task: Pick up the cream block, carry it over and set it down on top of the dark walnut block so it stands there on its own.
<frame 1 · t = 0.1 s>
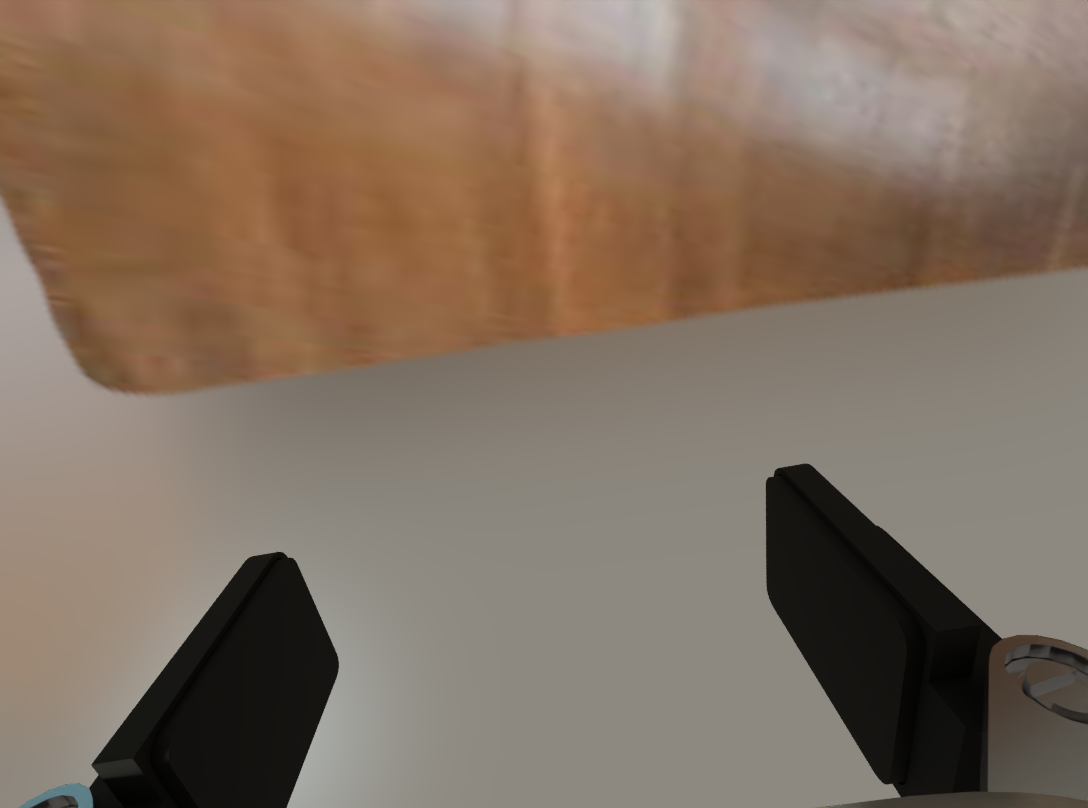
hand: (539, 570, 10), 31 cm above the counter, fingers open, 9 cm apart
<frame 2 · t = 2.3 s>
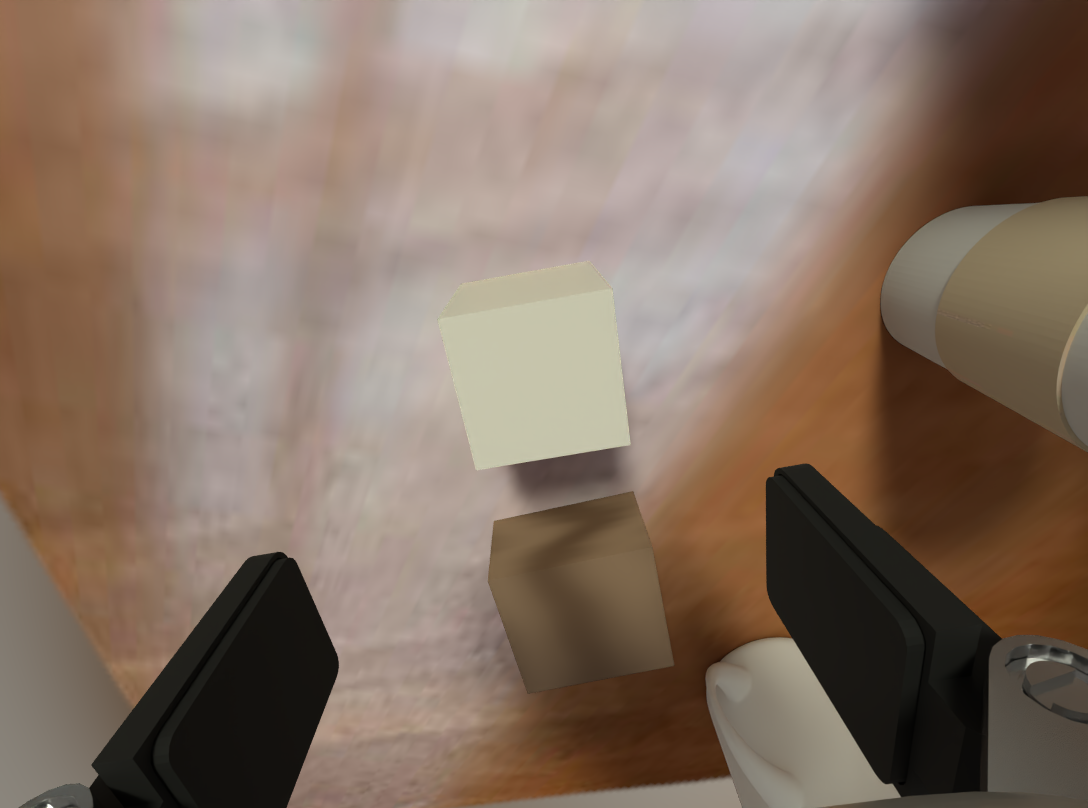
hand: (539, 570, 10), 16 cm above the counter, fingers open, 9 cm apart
coffee cup: (949, 282, 25), on the counter
mug: (747, 665, 34), on the counter
walnut block: (577, 559, 31), on the counter
cream block: (536, 334, 25), on the counter
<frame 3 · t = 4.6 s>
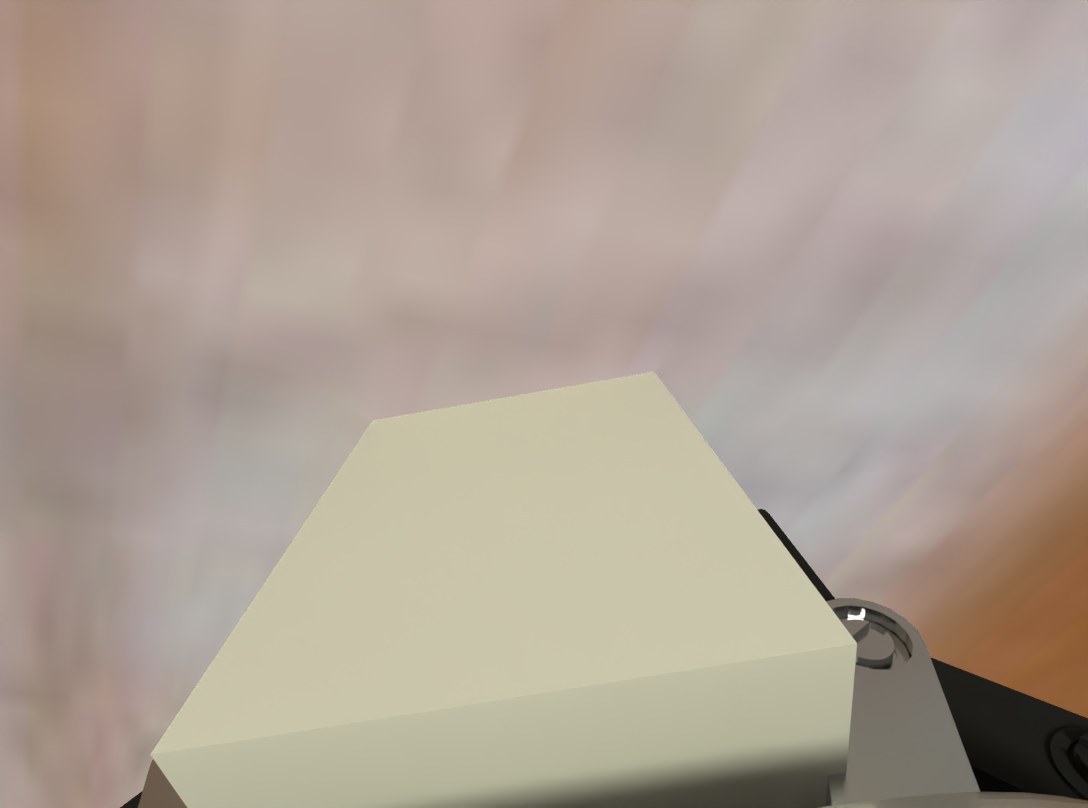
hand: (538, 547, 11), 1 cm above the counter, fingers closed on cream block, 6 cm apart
cream block: (536, 515, 12), on the counter, touching gripper
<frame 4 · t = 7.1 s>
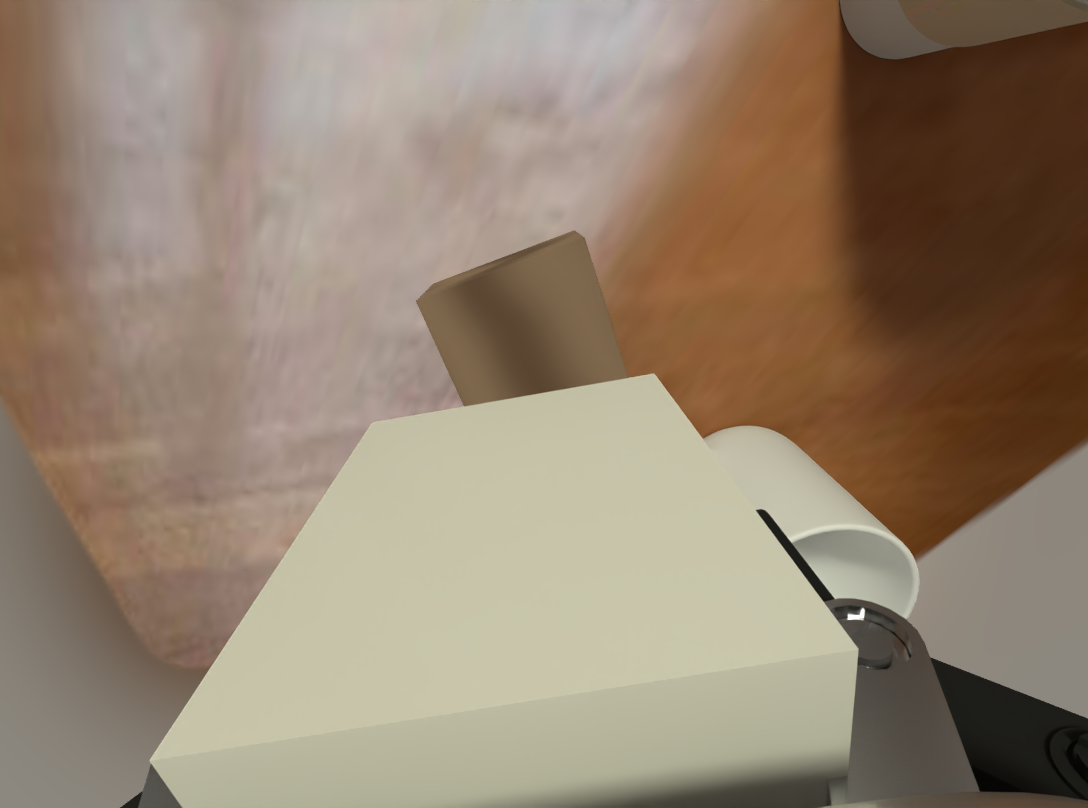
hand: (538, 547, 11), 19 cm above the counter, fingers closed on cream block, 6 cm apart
mug: (714, 465, 33), on the counter
walnut block: (529, 326, 29), on the counter
cream block: (536, 516, 12), point 18 cm above the counter, touching gripper
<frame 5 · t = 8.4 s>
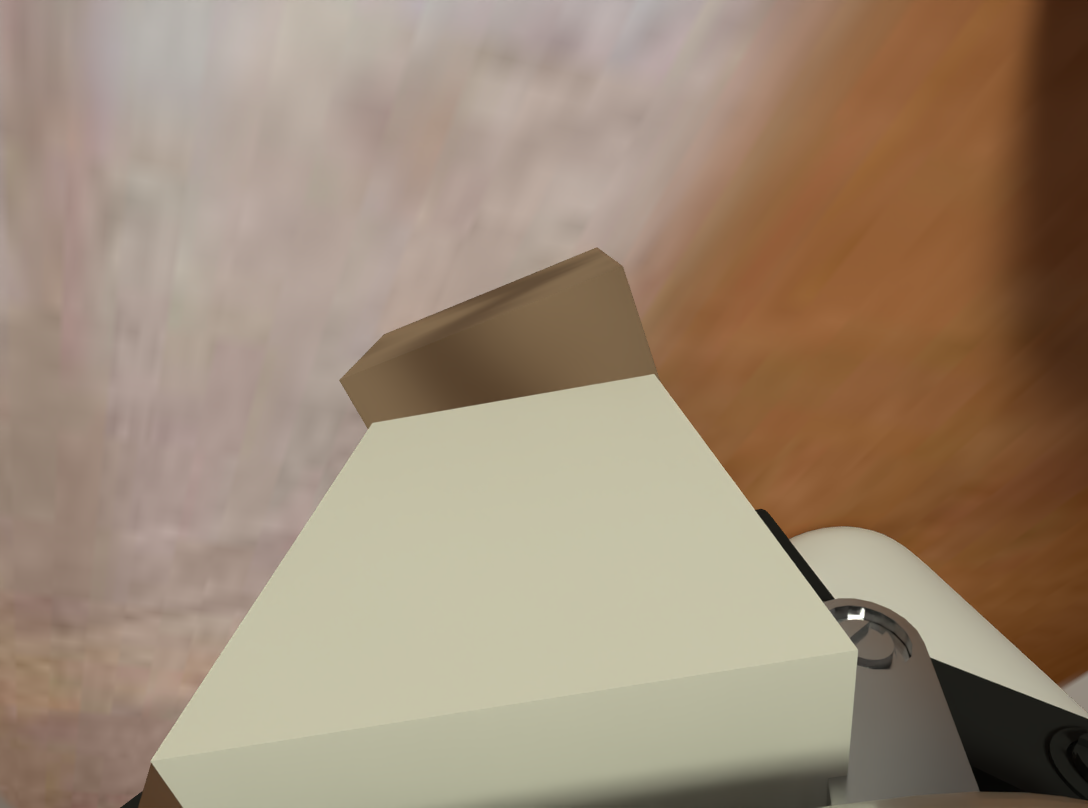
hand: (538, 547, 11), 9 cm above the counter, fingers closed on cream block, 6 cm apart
mug: (792, 576, 23), on the counter
walnut block: (531, 390, 19), on the counter
cream block: (537, 517, 12), point 8 cm above the counter, touching gripper
when the fingers open (7 cm above the counter, at t = 9.7 s): cream block stays where it is, resting on walnut block.
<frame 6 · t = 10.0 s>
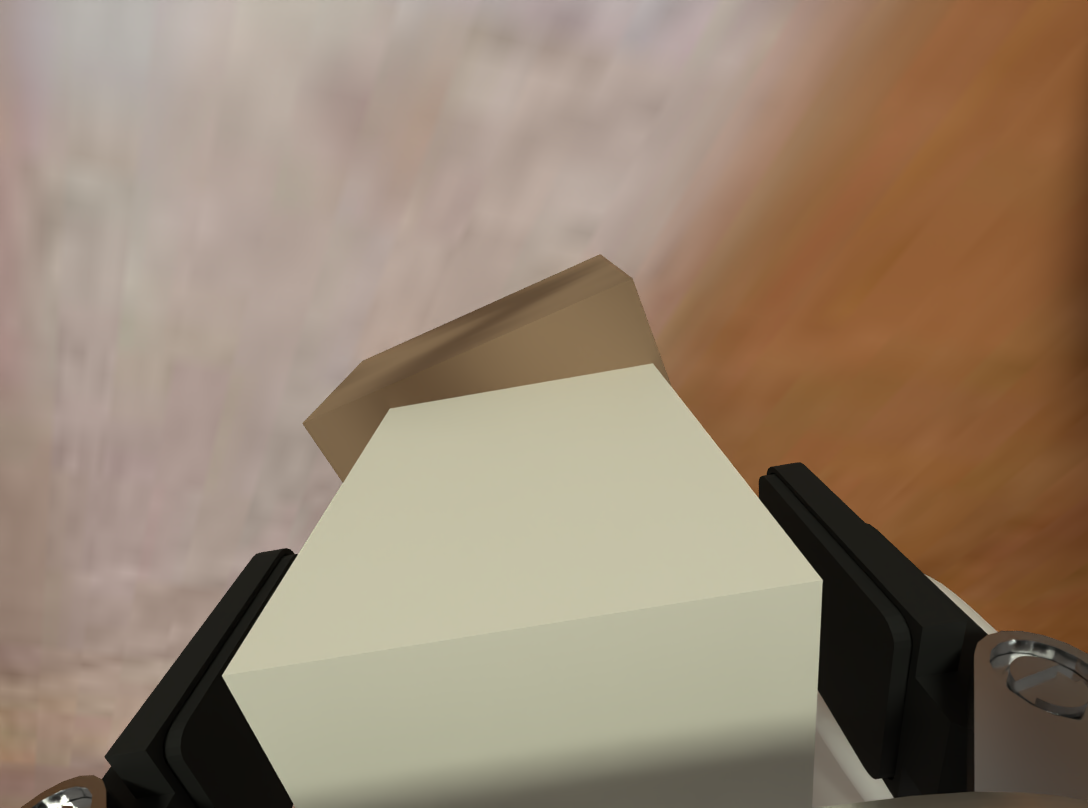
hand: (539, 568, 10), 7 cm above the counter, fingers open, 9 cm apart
mug: (819, 616, 21), on the counter
walnut block: (531, 416, 17), on the counter, touching cream block
cream block: (542, 498, 13), point 5 cm above the counter, touching walnut block
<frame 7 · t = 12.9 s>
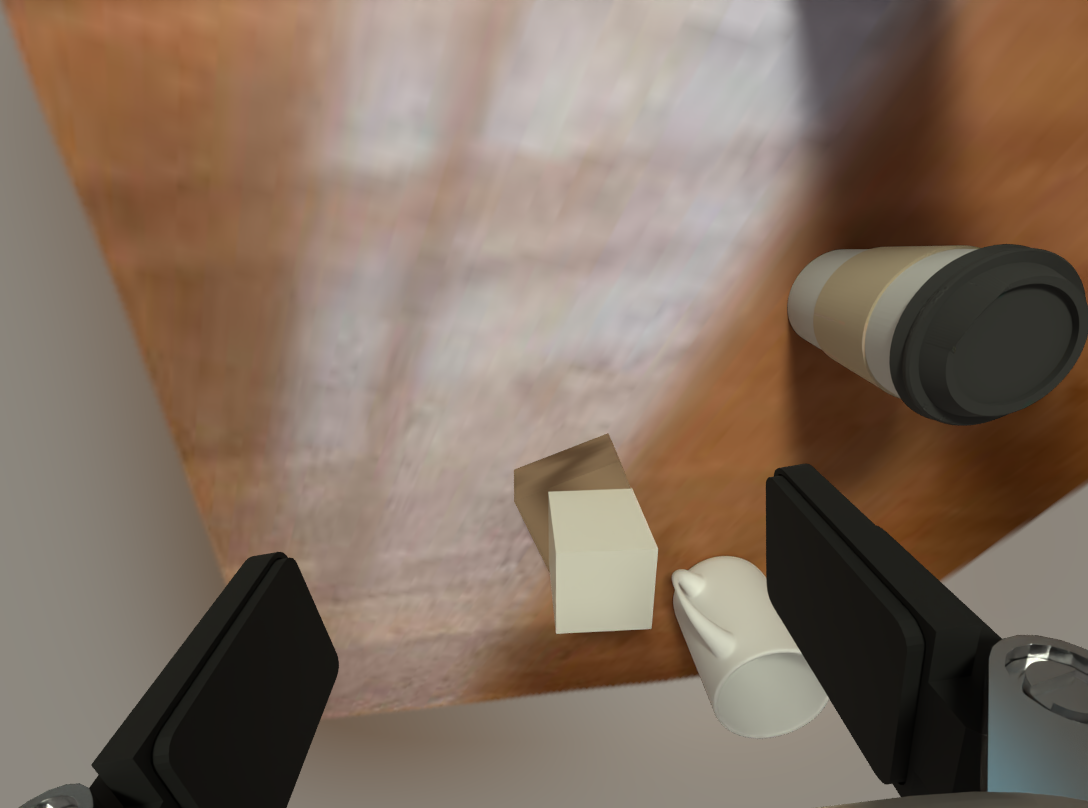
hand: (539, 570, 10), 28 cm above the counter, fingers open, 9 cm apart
coffee cup: (831, 297, 38), on the counter
mug: (704, 580, 46), on the counter
walnut block: (578, 490, 42), on the counter, touching cream block
cream block: (589, 526, 38), point 5 cm above the counter, touching walnut block
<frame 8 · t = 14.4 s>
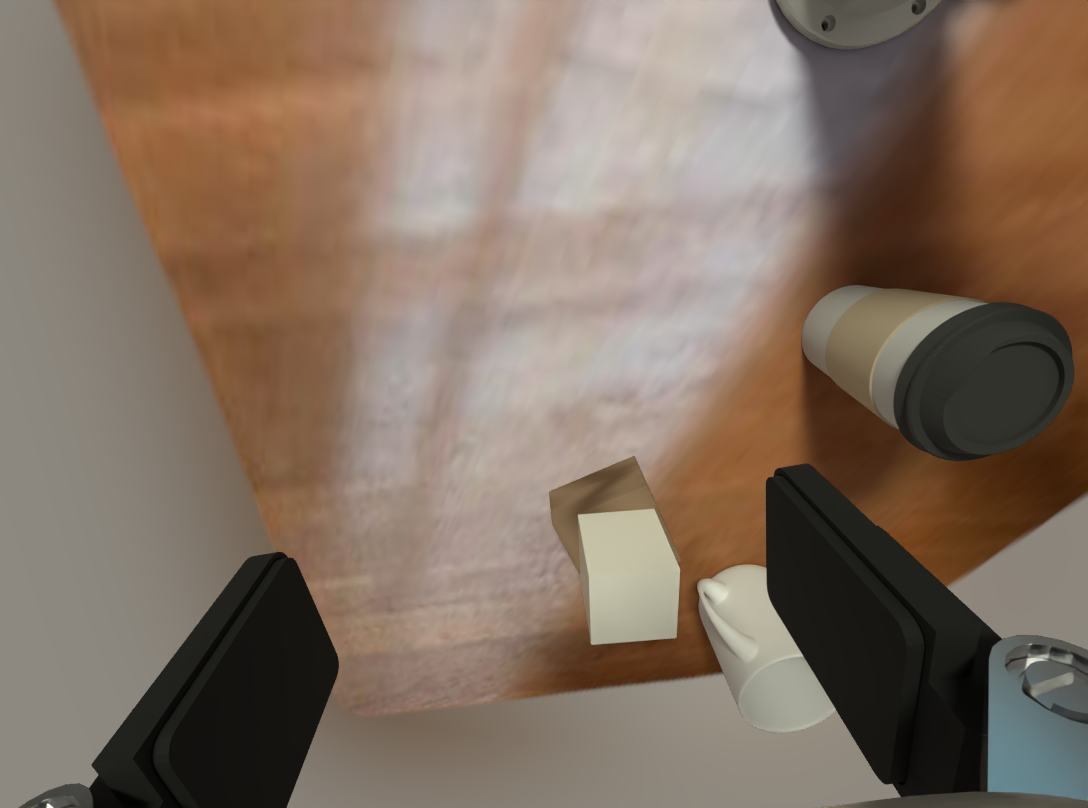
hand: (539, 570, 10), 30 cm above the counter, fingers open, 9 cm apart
coffee cup: (843, 328, 40), on the counter
mug: (726, 586, 50), on the counter
walnut block: (608, 507, 46), on the counter, touching cream block
cream block: (616, 543, 41), point 5 cm above the counter, touching walnut block
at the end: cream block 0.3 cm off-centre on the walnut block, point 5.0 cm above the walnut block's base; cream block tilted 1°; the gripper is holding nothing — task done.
